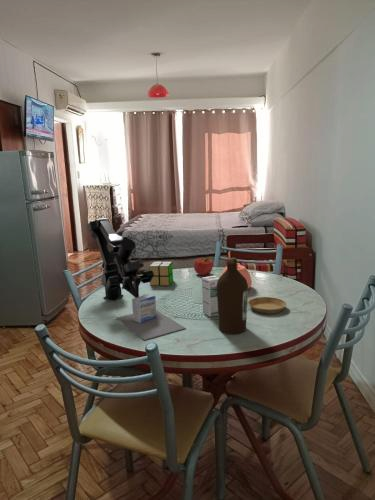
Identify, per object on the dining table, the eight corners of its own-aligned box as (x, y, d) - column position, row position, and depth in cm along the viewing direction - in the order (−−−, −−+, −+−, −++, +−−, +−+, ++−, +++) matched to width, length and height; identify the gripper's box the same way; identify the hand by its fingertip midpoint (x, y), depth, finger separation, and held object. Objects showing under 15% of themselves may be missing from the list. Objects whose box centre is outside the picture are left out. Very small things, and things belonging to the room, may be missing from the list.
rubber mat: (117, 318, 140) (117, 317, 140) (154, 309, 148) (154, 308, 148) (144, 340, 120) (143, 339, 119) (185, 328, 128) (185, 327, 128)
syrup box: (210, 317, 138) (209, 280, 135) (202, 312, 143) (201, 276, 140) (222, 314, 140) (222, 277, 137) (214, 309, 145) (214, 274, 142)
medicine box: (140, 323, 133) (139, 301, 131) (132, 320, 136) (131, 298, 134) (156, 317, 138) (155, 295, 136) (149, 314, 141) (148, 293, 140)
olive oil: (215, 334, 123) (213, 261, 118) (219, 322, 133) (218, 255, 128) (247, 336, 120) (247, 262, 116) (248, 323, 131) (248, 255, 126)
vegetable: (215, 272, 202) (215, 254, 200) (212, 277, 192) (212, 258, 190) (196, 271, 205) (196, 254, 203) (192, 276, 195) (191, 258, 193)
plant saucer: (244, 303, 152) (244, 297, 151) (278, 301, 153) (278, 295, 152) (253, 317, 137) (253, 310, 137) (291, 314, 138) (292, 308, 138)
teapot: (248, 297, 159) (248, 270, 156) (214, 295, 163) (213, 268, 161) (254, 283, 179) (254, 258, 177) (223, 281, 184) (223, 257, 181)
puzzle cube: (154, 280, 191) (153, 261, 189) (173, 280, 189) (172, 261, 187) (149, 285, 181) (148, 266, 179) (169, 286, 180) (168, 266, 178)
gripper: (106, 256, 137) (119, 291, 130) (151, 250, 146) (165, 282, 139) (101, 272, 145) (112, 306, 138) (143, 265, 154) (157, 297, 147)
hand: (137, 297), depth 140 cm, fingers closed
